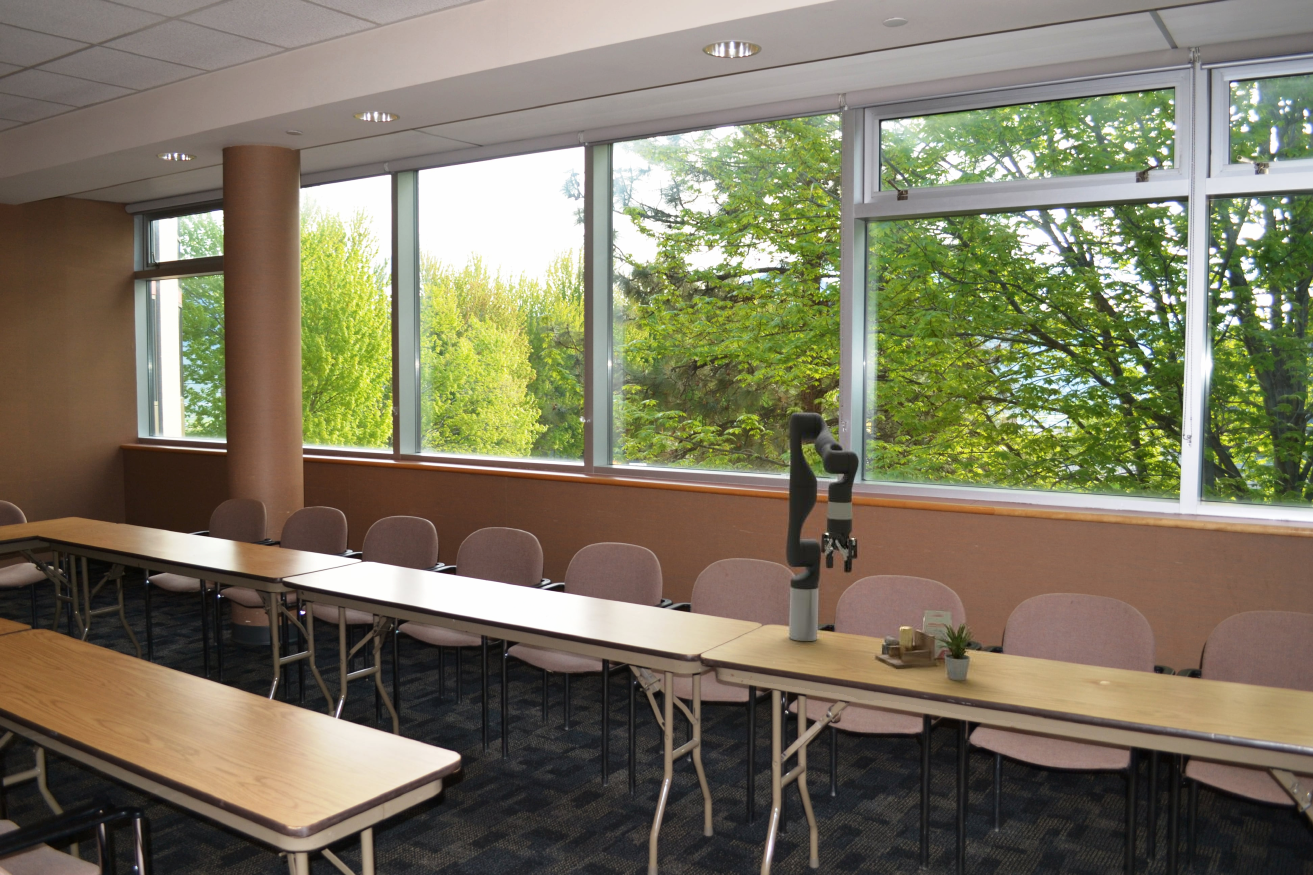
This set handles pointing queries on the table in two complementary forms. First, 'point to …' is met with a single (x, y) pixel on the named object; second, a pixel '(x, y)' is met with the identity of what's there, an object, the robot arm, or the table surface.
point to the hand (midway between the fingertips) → (838, 570)
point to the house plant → (956, 652)
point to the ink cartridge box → (935, 623)
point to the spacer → (905, 640)
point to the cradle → (909, 652)
